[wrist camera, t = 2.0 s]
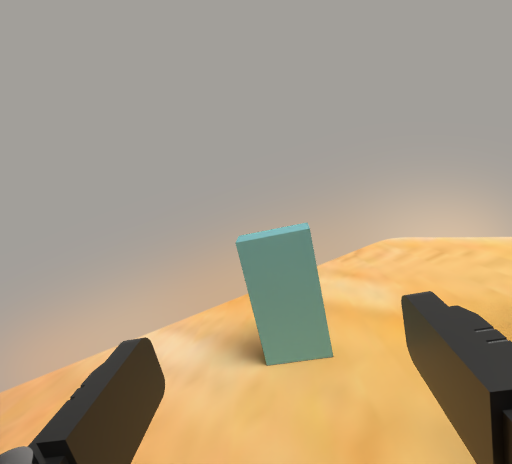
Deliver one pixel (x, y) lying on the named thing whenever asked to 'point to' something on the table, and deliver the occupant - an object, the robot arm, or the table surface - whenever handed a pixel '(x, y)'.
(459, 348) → the robot arm
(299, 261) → the domino
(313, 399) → the table surface
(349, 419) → the table surface
